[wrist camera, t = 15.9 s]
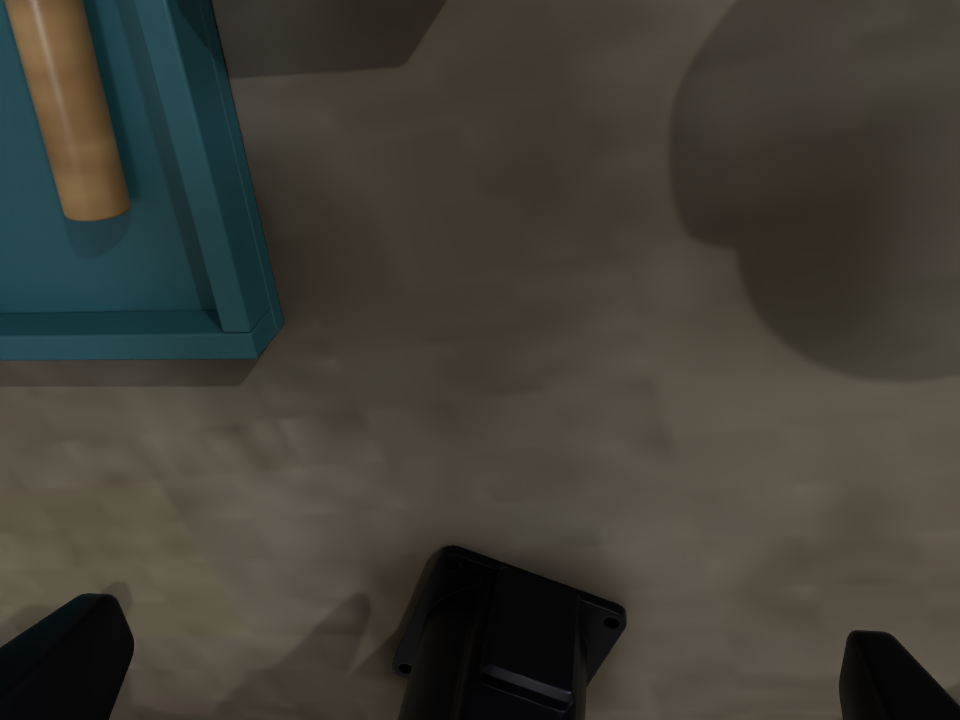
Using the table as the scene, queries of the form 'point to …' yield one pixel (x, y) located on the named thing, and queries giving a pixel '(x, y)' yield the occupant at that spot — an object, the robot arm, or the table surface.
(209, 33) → the tray
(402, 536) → the table surface
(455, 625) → the robot arm
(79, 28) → the tan round-headed peg
